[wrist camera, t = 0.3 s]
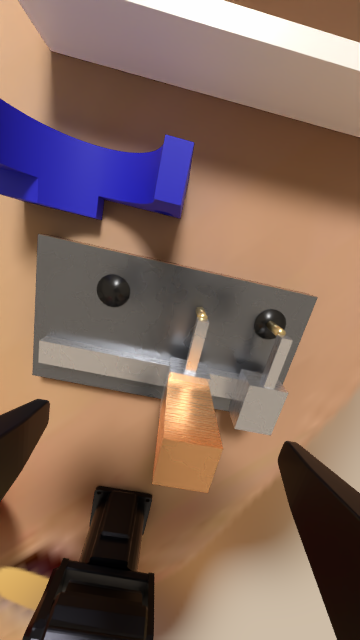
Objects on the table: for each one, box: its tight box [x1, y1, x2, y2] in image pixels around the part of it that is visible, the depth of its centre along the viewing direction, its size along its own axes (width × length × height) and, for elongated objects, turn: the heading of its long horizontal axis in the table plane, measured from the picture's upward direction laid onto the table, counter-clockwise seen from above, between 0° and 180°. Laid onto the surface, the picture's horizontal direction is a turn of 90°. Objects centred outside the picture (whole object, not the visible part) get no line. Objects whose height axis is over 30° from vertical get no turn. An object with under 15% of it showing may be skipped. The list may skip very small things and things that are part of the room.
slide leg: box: [152, 307, 223, 493], centre depth 15 cm, size 8×3×9 cm, turn 167°
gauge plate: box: [32, 234, 318, 435], centre depth 19 cm, size 12×22×5 cm, turn 78°
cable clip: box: [0, 99, 194, 220], centre depth 15 cm, size 12×4×6 cm, turn 77°
